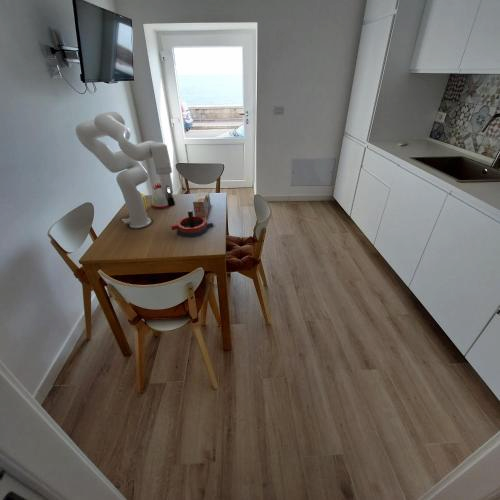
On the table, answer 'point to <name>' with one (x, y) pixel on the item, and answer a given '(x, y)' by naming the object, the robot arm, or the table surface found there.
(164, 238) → the table surface
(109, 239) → the table surface
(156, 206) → the white rounded dome
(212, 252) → the table surface
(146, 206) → the tape roll
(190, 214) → the ring peg
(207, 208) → the stack of blocks
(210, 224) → the slate ring
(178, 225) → the red ring
